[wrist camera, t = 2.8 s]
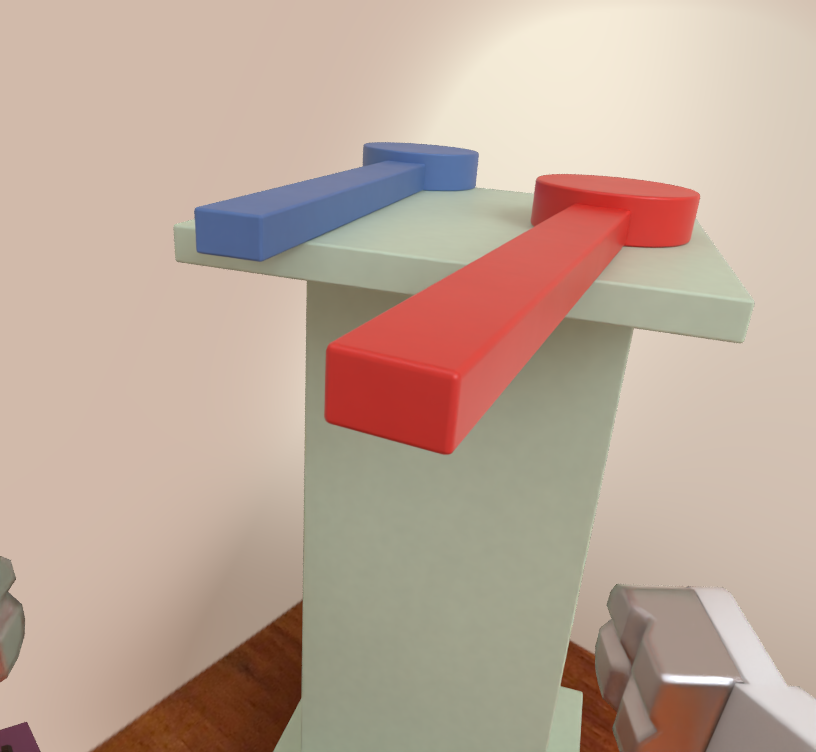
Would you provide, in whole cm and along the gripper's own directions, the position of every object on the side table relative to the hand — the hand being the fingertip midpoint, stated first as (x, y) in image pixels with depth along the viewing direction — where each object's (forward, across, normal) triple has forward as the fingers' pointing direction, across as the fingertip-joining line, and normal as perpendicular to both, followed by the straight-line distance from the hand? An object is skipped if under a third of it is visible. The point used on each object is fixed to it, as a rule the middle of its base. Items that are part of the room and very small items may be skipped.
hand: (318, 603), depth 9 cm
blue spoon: (+16, 0, -2) cm, 16 cm away
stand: (+13, -4, +25) cm, 29 cm away
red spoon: (+8, -5, -3) cm, 9 cm away
